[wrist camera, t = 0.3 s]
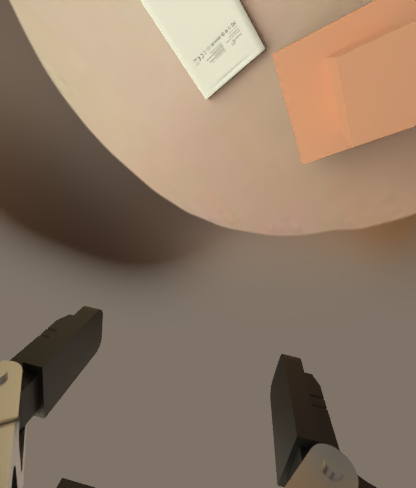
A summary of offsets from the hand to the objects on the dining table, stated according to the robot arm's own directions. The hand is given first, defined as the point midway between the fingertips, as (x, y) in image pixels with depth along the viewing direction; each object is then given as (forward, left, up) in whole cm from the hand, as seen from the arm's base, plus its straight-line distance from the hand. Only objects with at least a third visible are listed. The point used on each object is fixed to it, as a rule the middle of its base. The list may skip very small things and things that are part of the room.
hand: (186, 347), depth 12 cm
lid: (-4, +12, -24) cm, 27 cm away
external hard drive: (-15, 0, -31) cm, 34 cm away
